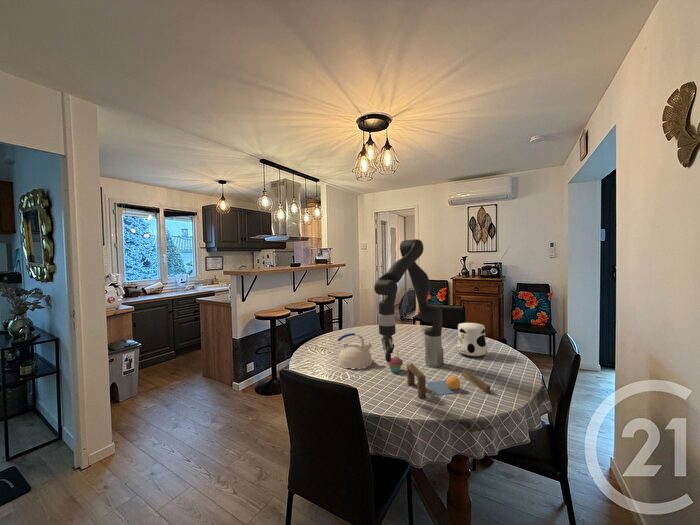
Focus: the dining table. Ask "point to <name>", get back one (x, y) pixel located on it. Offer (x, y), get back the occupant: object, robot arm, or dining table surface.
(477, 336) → the milk container
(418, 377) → the bridge
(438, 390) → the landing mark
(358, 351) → the kettle
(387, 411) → the dining table surface
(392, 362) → the cupcake
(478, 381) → the wall
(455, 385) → the ball
